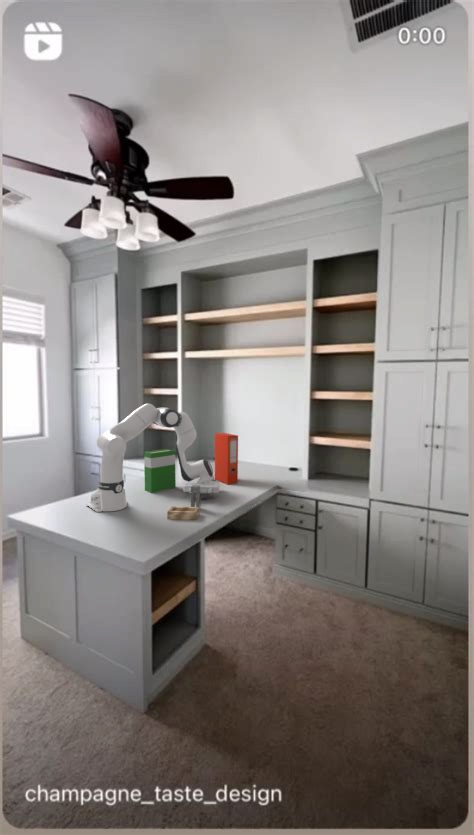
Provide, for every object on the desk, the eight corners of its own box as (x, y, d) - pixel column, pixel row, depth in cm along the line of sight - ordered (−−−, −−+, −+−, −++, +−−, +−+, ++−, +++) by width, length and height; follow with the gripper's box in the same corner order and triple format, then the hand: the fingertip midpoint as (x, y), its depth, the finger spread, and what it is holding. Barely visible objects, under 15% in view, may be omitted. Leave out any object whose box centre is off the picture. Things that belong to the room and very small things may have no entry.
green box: (168, 485, 240) (168, 448, 238) (175, 487, 235) (175, 450, 233) (144, 490, 228) (144, 451, 226) (151, 492, 223) (150, 453, 221)
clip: (190, 509, 191) (190, 487, 190) (192, 507, 195) (192, 485, 194) (198, 510, 191) (198, 487, 190) (200, 507, 194) (200, 485, 193)
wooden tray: (167, 518, 178) (167, 511, 178) (172, 513, 186) (171, 506, 186) (196, 519, 177) (196, 512, 176) (199, 514, 185) (199, 507, 184)
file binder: (224, 477, 261) (224, 432, 259) (237, 483, 246) (238, 435, 244) (214, 479, 257) (214, 433, 254) (227, 484, 242) (227, 436, 240)
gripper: (186, 479, 216) (180, 485, 203) (221, 480, 214) (217, 486, 201) (186, 490, 217) (180, 496, 203) (221, 491, 215) (217, 498, 201)
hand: (199, 491), depth 202 cm, fingers open, 8 cm apart
